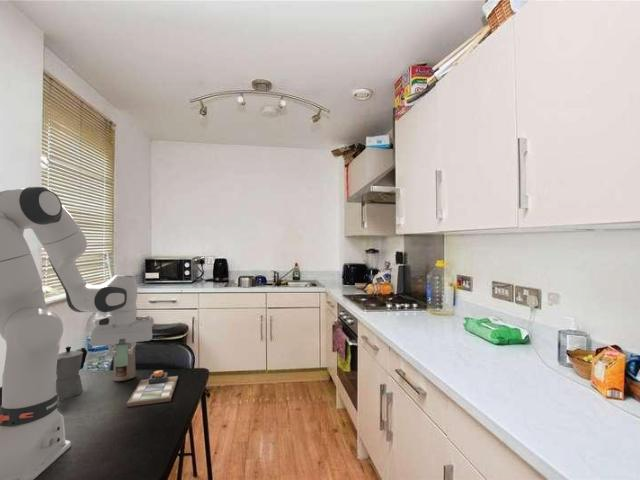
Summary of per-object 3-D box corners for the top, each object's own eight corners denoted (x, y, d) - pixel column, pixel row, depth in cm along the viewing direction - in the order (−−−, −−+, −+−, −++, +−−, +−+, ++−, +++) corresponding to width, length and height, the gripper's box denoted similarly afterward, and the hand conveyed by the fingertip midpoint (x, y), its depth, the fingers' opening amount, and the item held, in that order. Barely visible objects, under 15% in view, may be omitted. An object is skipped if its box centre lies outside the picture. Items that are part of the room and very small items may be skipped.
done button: (162, 377, 135) (162, 372, 135) (152, 379, 134) (152, 373, 134) (163, 374, 138) (163, 369, 138) (154, 375, 137) (154, 370, 137)
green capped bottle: (120, 367, 122) (121, 339, 123) (112, 366, 124) (113, 338, 125) (130, 364, 126) (131, 337, 127) (122, 362, 128) (123, 336, 128)
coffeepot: (64, 402, 120) (64, 352, 121) (40, 401, 121) (41, 351, 122) (97, 385, 135) (97, 340, 136) (75, 384, 136) (75, 340, 137)
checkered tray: (170, 401, 120) (170, 391, 120) (126, 406, 116) (126, 397, 116) (177, 378, 141) (177, 371, 141) (141, 383, 137) (141, 375, 137)
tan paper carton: (108, 381, 140) (108, 333, 140) (124, 374, 148) (124, 328, 148) (123, 383, 137) (124, 334, 138) (140, 375, 145) (140, 329, 146)
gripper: (153, 314, 134) (152, 349, 133) (91, 318, 124) (90, 356, 123) (154, 316, 129) (153, 353, 128) (90, 321, 118) (88, 361, 118)
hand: (121, 355), depth 125 cm, fingers closed on green capped bottle, 4 cm apart
